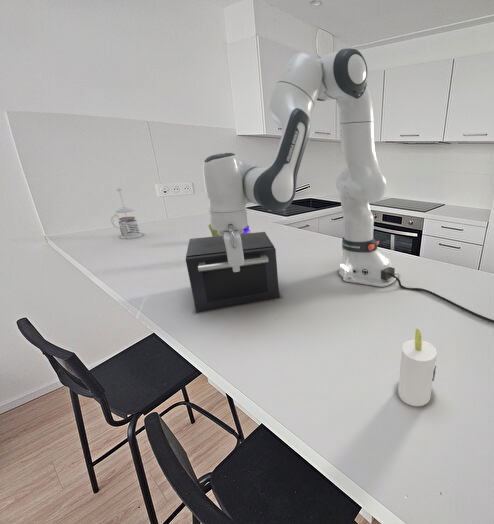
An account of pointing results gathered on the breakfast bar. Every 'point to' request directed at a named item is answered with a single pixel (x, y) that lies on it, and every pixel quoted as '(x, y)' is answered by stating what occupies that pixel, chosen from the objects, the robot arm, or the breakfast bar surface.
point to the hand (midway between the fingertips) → (236, 270)
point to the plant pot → (213, 231)
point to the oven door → (233, 279)
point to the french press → (127, 223)
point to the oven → (218, 246)
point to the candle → (417, 371)
